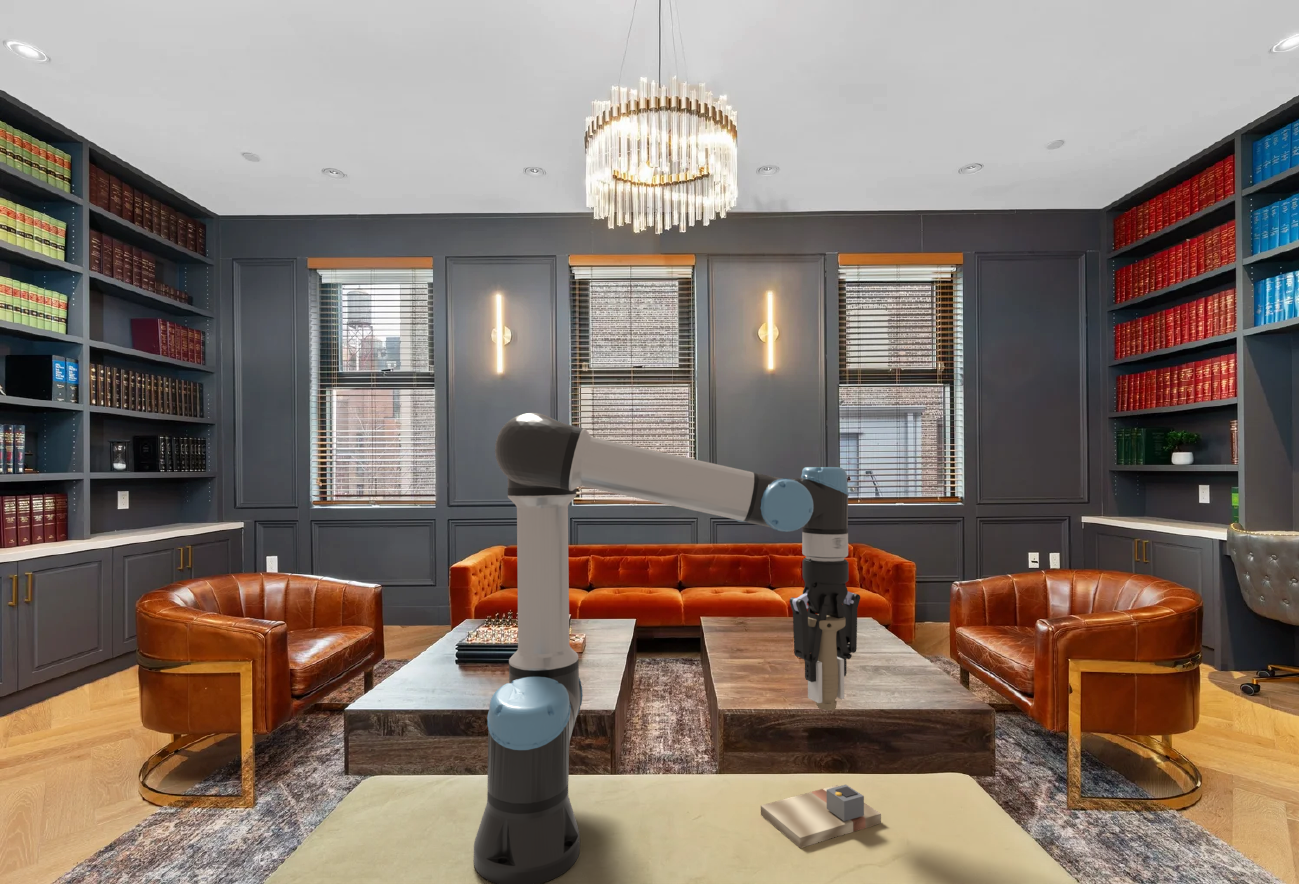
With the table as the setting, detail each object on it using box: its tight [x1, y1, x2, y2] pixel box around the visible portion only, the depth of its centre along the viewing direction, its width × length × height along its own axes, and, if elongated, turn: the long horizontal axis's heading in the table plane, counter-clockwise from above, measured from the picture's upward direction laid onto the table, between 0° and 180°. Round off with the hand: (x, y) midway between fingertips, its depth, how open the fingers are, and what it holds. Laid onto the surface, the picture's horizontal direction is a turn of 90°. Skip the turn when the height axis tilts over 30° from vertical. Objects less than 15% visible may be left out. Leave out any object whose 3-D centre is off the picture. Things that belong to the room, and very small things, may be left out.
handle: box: [808, 614, 846, 711], centre depth 106 cm, size 5×6×15 cm
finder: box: [827, 784, 865, 821], centre depth 100 cm, size 4×4×3 cm
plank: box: [760, 784, 882, 849], centre depth 101 cm, size 16×10×2 cm, turn 115°
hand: (826, 697), depth 106 cm, fingers closed on handle, 4 cm apart
